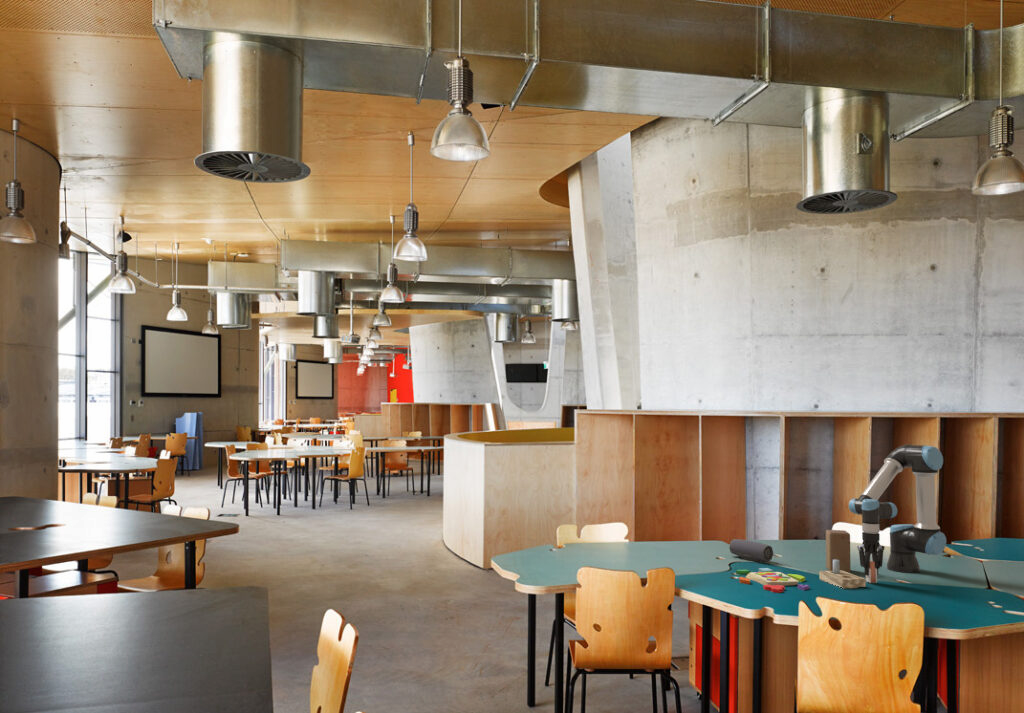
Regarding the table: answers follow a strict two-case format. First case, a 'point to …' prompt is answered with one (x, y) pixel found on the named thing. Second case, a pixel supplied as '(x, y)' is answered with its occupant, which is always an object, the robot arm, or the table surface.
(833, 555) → the wooden block
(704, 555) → the table surface
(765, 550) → the bluetooth speaker
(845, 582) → the hole block
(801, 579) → the pattern blocks set
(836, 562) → the grey peg
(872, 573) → the red peg
